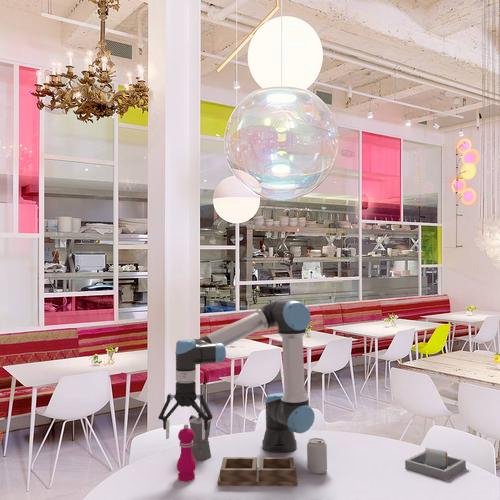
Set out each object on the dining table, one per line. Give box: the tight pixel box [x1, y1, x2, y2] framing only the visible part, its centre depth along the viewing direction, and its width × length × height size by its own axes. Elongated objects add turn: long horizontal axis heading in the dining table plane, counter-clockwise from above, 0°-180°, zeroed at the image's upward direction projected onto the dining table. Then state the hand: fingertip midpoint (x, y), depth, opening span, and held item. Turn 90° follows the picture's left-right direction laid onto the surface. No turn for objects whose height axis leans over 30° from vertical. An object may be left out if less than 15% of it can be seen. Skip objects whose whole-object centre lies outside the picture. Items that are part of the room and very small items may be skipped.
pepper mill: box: [176, 423, 197, 482], centre depth 197 cm, size 7×7×20 cm
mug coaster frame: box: [404, 450, 467, 481], centre depth 204 cm, size 16×16×3 cm
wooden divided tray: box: [217, 456, 299, 487], centre depth 196 cm, size 29×14×6 cm, turn 88°
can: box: [306, 437, 328, 475], centre depth 202 cm, size 8×8×12 cm
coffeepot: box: [188, 413, 212, 461], centre depth 221 cm, size 15×9×18 cm, turn 35°
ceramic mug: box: [424, 447, 449, 470], centre depth 205 cm, size 11×8×8 cm
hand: (185, 438), depth 198 cm, fingers open, 13 cm apart
